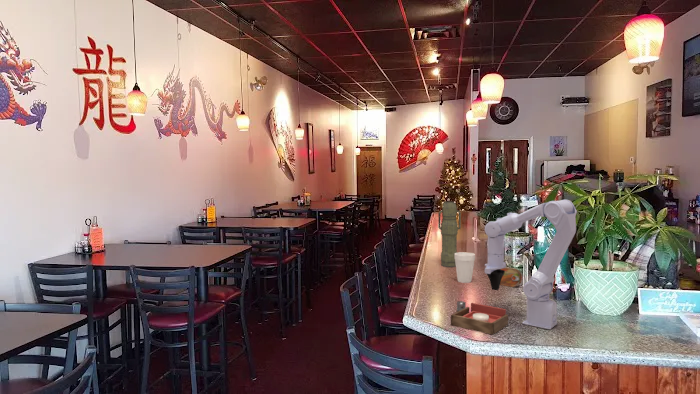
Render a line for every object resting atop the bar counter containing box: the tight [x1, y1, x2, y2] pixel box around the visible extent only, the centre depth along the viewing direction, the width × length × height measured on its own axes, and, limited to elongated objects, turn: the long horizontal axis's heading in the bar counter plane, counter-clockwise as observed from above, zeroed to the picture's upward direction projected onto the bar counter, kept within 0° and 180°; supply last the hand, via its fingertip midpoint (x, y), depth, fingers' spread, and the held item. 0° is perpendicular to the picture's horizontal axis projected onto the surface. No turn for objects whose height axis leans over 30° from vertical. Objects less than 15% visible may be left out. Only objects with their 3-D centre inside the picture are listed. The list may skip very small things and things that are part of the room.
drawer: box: [462, 302, 507, 323], centre depth 167 cm, size 13×12×5 cm
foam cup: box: [455, 251, 476, 284], centre depth 228 cm, size 10×9×13 cm
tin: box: [500, 266, 523, 288], centre depth 221 cm, size 15×3×8 cm, turn 45°
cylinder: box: [456, 300, 467, 312], centre depth 182 cm, size 3×3×4 cm
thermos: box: [437, 201, 462, 268], centre depth 263 cm, size 9×12×35 cm
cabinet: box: [450, 306, 509, 335], centre depth 166 cm, size 15×12×4 cm
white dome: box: [473, 313, 489, 322], centre depth 167 cm, size 5×5×2 cm
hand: (495, 289), depth 179 cm, fingers closed
